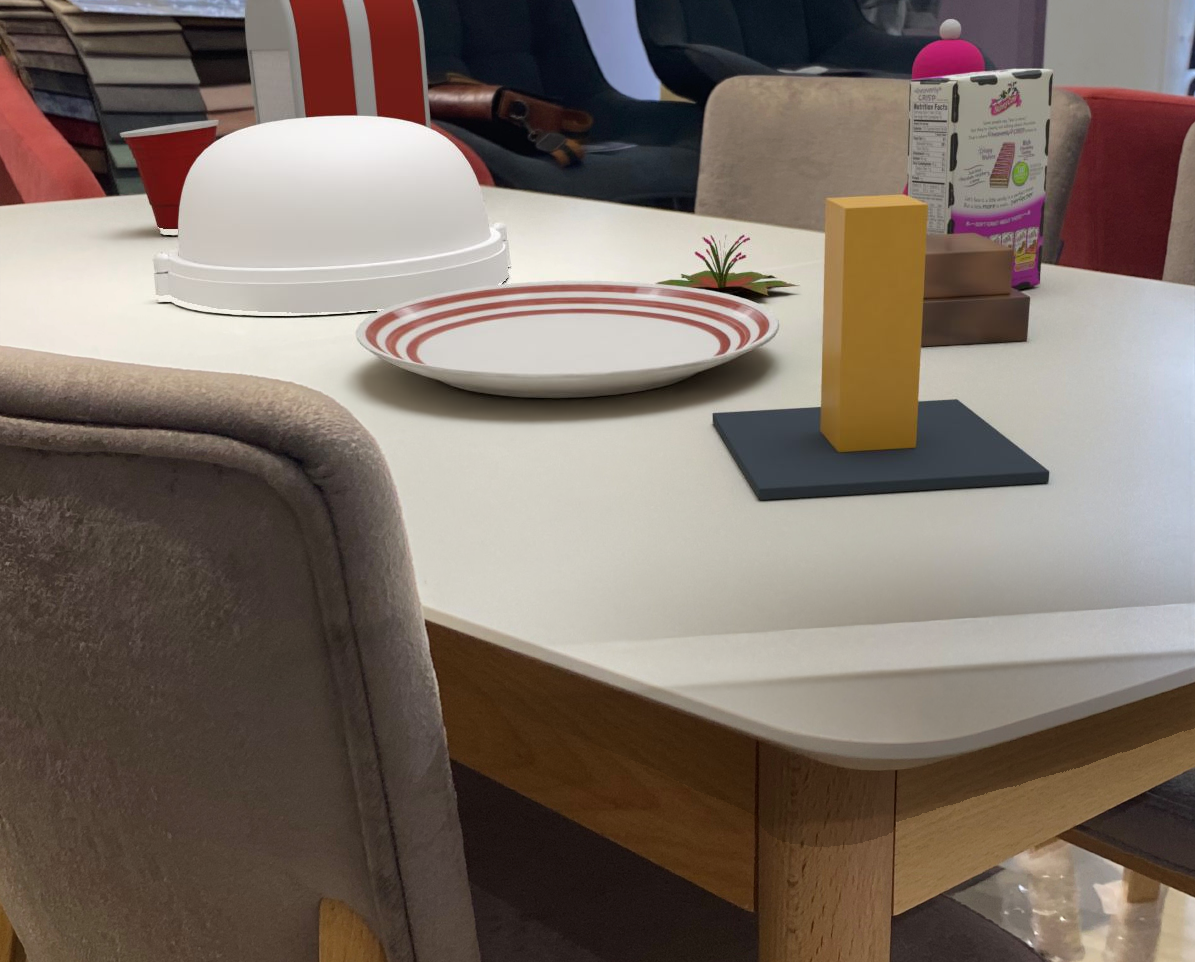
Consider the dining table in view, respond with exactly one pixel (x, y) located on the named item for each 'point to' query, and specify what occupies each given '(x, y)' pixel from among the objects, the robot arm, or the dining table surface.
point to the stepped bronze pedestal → (971, 292)
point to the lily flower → (726, 275)
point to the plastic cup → (168, 162)
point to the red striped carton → (337, 59)
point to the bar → (872, 321)
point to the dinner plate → (567, 336)
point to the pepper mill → (947, 56)
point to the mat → (872, 454)
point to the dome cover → (330, 219)
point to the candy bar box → (984, 158)
